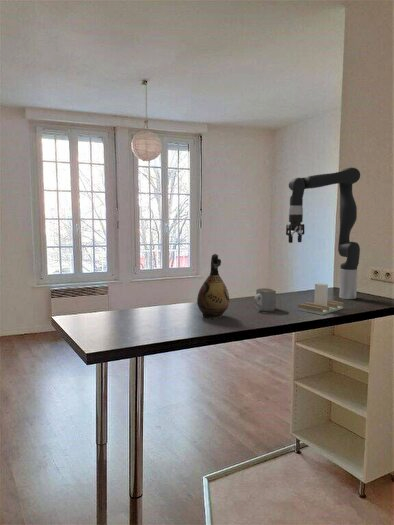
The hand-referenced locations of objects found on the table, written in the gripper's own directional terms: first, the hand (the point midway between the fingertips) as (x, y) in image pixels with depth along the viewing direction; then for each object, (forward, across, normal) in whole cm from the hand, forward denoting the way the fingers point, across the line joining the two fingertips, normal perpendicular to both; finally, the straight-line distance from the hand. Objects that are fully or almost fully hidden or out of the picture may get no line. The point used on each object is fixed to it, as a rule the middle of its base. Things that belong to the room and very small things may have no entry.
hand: (295, 242), depth 229 cm
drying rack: (+33, -10, -24) cm, 42 cm away
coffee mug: (+33, -32, -4) cm, 46 cm away
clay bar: (+32, -10, -24) cm, 41 cm away
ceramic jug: (+33, -62, +2) cm, 70 cm away
